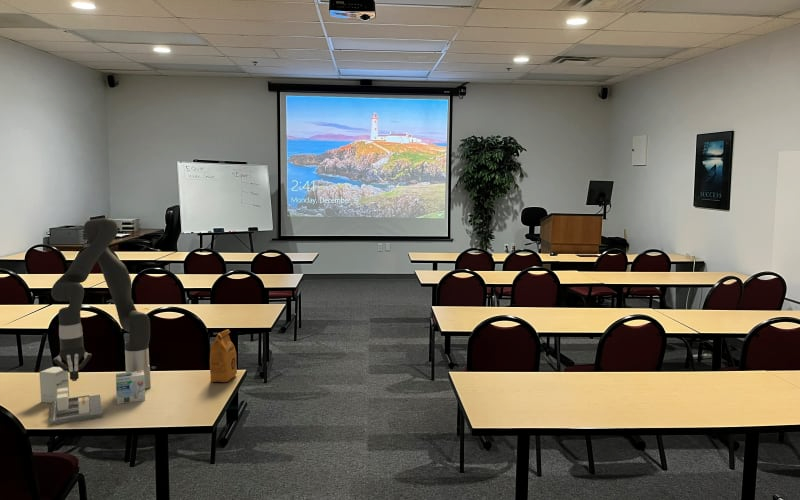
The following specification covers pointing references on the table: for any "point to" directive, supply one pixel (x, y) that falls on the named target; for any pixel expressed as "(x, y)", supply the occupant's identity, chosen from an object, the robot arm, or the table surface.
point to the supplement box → (52, 383)
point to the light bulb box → (130, 387)
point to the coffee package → (222, 358)
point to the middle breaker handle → (62, 402)
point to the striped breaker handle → (83, 405)
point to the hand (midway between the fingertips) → (74, 380)
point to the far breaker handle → (62, 391)
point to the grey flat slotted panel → (76, 411)
